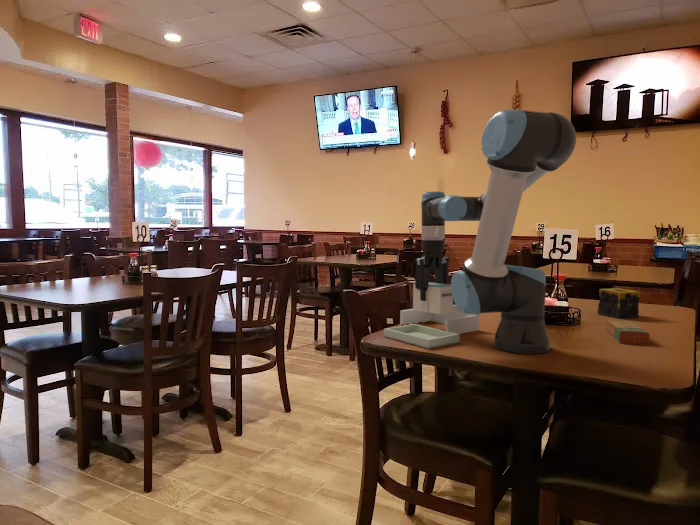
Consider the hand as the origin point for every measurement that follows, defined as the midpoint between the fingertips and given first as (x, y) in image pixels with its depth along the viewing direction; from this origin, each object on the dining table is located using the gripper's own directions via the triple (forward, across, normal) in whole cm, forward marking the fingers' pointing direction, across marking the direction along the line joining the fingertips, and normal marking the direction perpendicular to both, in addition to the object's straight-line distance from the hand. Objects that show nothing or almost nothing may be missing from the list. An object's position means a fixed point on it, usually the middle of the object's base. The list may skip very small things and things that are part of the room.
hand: (432, 309), depth 172 cm
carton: (+8, -39, +44) cm, 60 cm away
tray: (+7, +14, +8) cm, 18 cm away
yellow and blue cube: (+7, -76, +24) cm, 80 cm away
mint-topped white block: (0, 0, 0) cm, 0 cm away
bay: (+6, -4, -1) cm, 8 cm away
